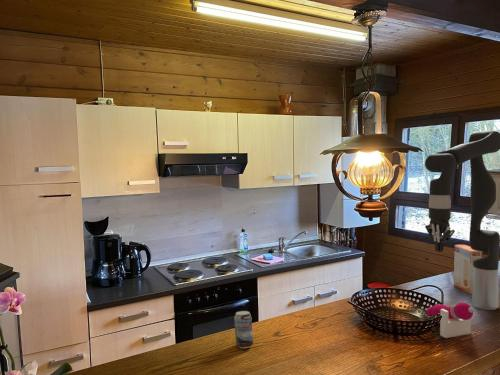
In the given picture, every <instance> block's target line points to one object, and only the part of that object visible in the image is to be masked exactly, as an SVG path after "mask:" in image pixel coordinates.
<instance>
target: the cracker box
mask: <svg viewBox="0 0 500 375" xmlns="http://www.w3.org/2000/svg"><path fill="white" fill-rule="evenodd" d="M477 258H483V251H477V250H473V249H471V247H470V245H467V244H454V259H453V260H454V263H453V265H454V267H453V286H455V287H456V288H458V289H460V290H461V291H463V292H464V293H466V294H467V295H472V291H473V261H474V259H477Z"/></svg>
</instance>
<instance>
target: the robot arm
mask: <svg viewBox="0 0 500 375" xmlns="http://www.w3.org/2000/svg"><path fill="white" fill-rule="evenodd" d="M498 151H500V131H498V130H497V131H496V130H481V131H474V132H471V134H470V135H469V138H468V142H467V143H461V144H458V145H455V146H453V147H451V148H448V149H446V150H442V151H437V152H433V153H431V154H429V155H428V156H427V157H426V158H425V160H424V166H425V169H426V170H427V171H428V172H430V173H441V174H440V175H439V177H438V178H433V179H431V180H430V182H429V197H428V219H430V220H429V223H428V224H425V227H424V228H425V229H426V231H427V234H428V236H429V238H430V239H431V240H433V242H434V249H435V250H434V251H435V252H437V253H442V252H444V243H445V242H449V240H450V239H451V238H452V237H453V235H454V234H455V229H452V228H451V227H450V226H451V225H450V220H451V218H452V216H451V215H452V199H451V184H452V180H453V177H454V174H455V171H456V167H457V166H459V165H462V164H463V163H465V162H467V161H469V162H470V224H469V238H468V240H469V242H468V243H469V246H470V247H471V249H473V250H477V251H482V253H483V252H484V253H485V252H486V253H488V254H487V256H484V257H483V256H482V258H477V259H474V261H473V291H472V294H471V296H472V298H471V299H472V300H471V302H472V303H471V304H472V306H473V308H476V309H480V310H485V311H495V310H498V308H500V285H499V262H500V233H499V232H498V231H495V230H487V229H481V227H482V226H481V224H482V222H483V219H484V217H485V216H486V214H487V213H488V212H489V211H490V210H491V208H492V207H493V206H494V204H495V202H496V201H497V184H496V181H495V179H494V177H493V176H492V175H491V173H490V172H489V170H488V169H487V167H486V165H485V162H484V157H483V156H484V155H487V154H488V155H489V154H493V153H494V154H495V153H497V152H498Z"/></svg>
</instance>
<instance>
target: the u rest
mask: <svg viewBox="0 0 500 375" xmlns="http://www.w3.org/2000/svg"><path fill="white" fill-rule="evenodd" d="M448 314H449V311H447V310H445V309H441V310H440V315H441V316H442V318H441V320H440V323H439V325H440V326H439V334H440V336H441V337H442V338H445V339H448V338H454V337H460V336H465V335H470V334H472V318H470V319H468V320H462V319H456V318H452V319H448Z"/></svg>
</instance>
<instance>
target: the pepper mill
mask: <svg viewBox="0 0 500 375" xmlns="http://www.w3.org/2000/svg"><path fill="white" fill-rule="evenodd" d="M441 309H445V310H447V311H449V314H448V319H452V318H456V319H462V320H468V319H470V318H471V319H472V317H473V316H474V312H475V310H474V307H472V306H471V305H470V304H469V303H467V302H464V301H463V302H462V301H461V302H457V304H453V305H451V306H448V305H446V304H441V303H437V304H435V305H434V306H433V305H432V306H430V307H428V308H427V309H426V317H427V316H431V315H432V316H433V315H435V314H438V313H440V310H441ZM438 324H440V322H439V323H438Z"/></svg>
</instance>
